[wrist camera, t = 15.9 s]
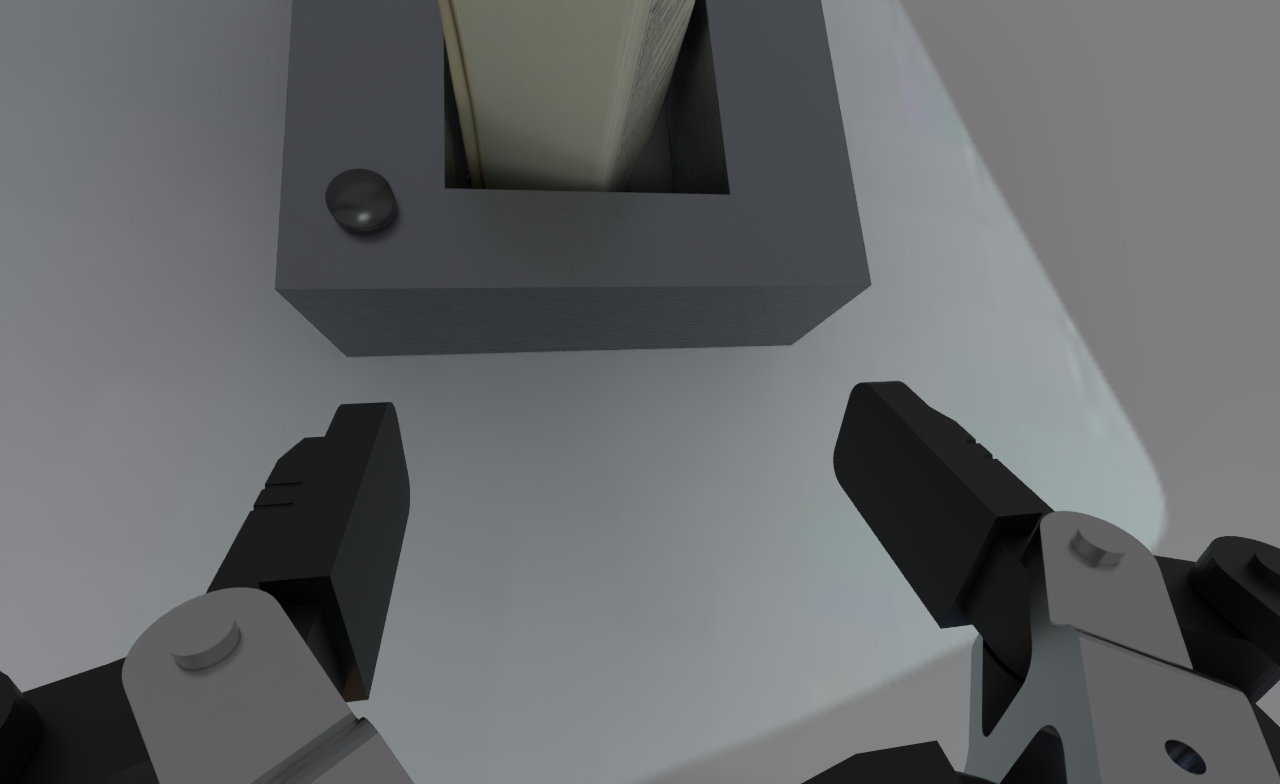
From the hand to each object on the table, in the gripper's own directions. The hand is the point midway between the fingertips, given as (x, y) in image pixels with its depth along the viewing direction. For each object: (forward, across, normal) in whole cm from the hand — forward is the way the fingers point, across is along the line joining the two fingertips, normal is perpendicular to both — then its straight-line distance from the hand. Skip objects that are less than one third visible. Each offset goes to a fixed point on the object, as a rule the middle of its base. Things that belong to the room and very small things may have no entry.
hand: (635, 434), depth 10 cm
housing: (+13, 0, -2) cm, 13 cm away
